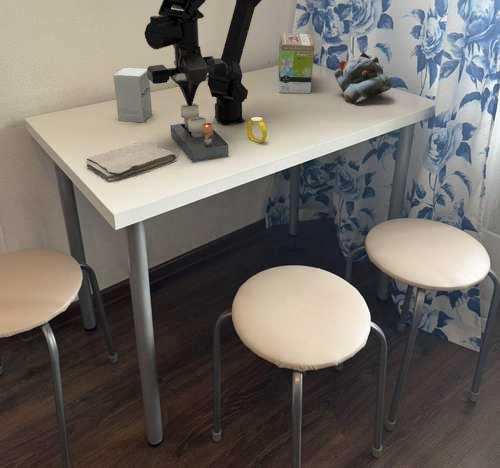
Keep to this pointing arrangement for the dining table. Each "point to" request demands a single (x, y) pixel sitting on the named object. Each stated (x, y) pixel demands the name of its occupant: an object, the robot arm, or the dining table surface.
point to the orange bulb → (207, 133)
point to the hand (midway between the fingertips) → (189, 105)
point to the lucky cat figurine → (361, 78)
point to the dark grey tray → (198, 144)
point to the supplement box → (132, 94)
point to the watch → (263, 127)
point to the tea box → (295, 63)
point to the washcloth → (129, 160)
